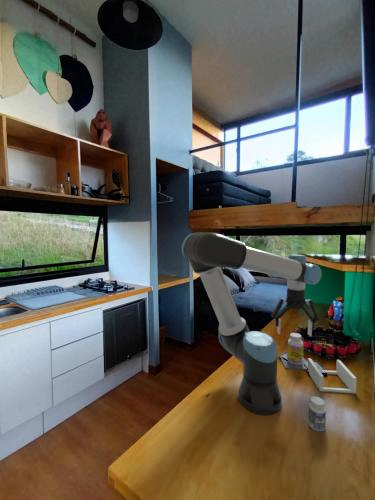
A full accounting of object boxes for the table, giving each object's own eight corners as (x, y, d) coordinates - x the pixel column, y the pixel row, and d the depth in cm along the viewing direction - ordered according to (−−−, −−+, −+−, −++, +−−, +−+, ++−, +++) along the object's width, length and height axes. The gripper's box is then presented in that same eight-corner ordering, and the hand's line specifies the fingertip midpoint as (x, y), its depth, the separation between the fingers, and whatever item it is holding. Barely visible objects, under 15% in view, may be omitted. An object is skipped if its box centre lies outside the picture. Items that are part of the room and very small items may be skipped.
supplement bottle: (288, 364, 110) (289, 337, 109) (285, 357, 116) (286, 331, 115) (304, 366, 108) (305, 338, 107) (300, 358, 115) (301, 332, 114)
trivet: (285, 368, 108) (285, 367, 108) (279, 356, 118) (279, 355, 118) (311, 370, 106) (311, 369, 106) (302, 357, 117) (302, 356, 117)
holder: (319, 390, 93) (320, 376, 92) (307, 371, 105) (307, 358, 105) (355, 393, 91) (356, 378, 90) (339, 373, 104) (339, 359, 103)
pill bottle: (316, 433, 73) (317, 407, 73) (304, 421, 78) (305, 397, 77) (328, 429, 75) (329, 404, 74) (317, 418, 79) (317, 394, 79)
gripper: (269, 289, 107) (267, 335, 109) (329, 291, 104) (326, 339, 106) (266, 285, 115) (264, 329, 116) (321, 287, 112) (319, 332, 113)
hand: (293, 334), depth 111 cm, fingers open, 13 cm apart
